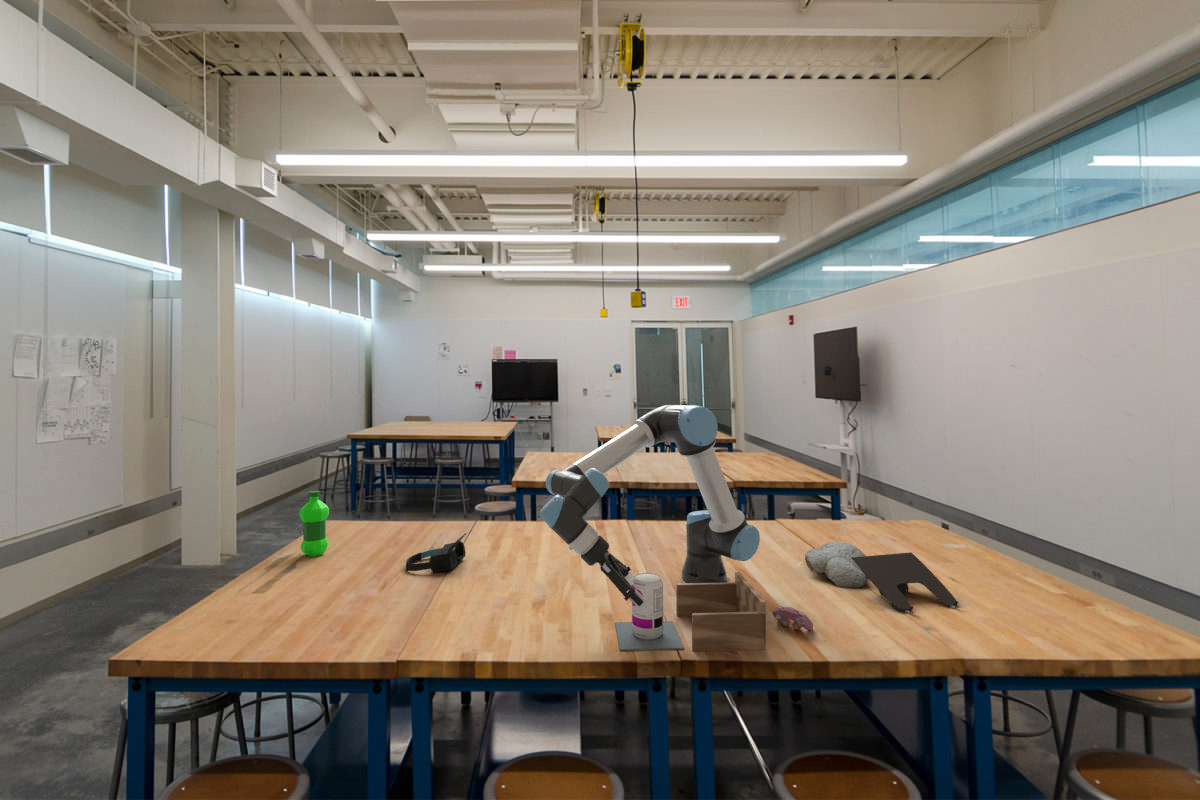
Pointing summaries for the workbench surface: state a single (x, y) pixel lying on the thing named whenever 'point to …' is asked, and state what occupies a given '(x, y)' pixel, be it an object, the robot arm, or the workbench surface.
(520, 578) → the workbench surface
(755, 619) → the wooden u-shaped enclosure
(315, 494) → the plastic bottle
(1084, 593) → the workbench surface
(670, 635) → the mat
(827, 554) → the grey rock
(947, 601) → the portable electronic device stand
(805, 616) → the video game controller
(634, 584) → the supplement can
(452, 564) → the virtual reality headset
